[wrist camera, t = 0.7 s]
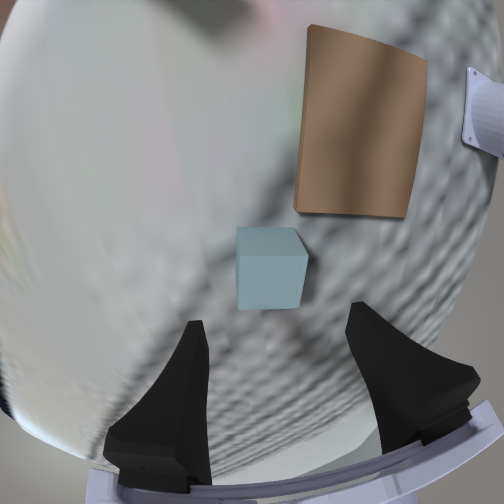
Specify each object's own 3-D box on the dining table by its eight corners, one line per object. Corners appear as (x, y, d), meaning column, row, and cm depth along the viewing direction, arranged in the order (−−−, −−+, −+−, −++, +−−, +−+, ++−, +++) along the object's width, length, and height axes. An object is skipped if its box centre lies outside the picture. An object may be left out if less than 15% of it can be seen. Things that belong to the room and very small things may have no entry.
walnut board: (420, 61, 15) (427, 60, 14) (399, 213, 22) (405, 217, 21) (307, 27, 14) (311, 24, 13) (293, 207, 21) (296, 211, 20)
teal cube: (293, 227, 22) (308, 255, 18) (287, 274, 24) (298, 308, 20) (236, 226, 22) (240, 256, 18) (235, 275, 24) (238, 310, 20)
